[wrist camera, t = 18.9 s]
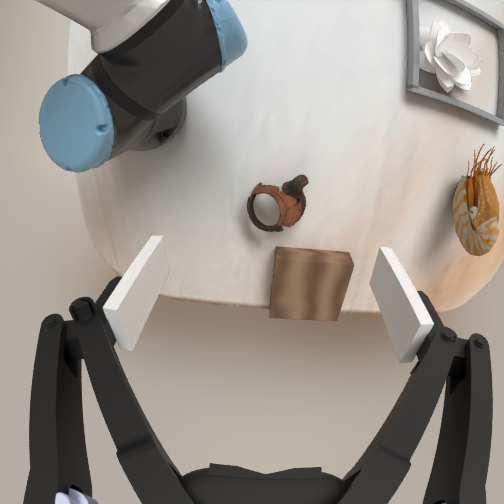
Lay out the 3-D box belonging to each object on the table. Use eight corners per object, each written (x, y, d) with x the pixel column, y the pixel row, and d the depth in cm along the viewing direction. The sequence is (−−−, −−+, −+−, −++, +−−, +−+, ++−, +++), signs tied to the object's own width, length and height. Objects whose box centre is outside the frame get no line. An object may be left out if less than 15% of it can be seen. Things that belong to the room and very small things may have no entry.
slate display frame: (406, 90, 38) (412, 91, 36) (404, -21, 25) (409, -24, 23) (499, 124, 37) (506, 127, 35) (500, 27, 24) (507, 26, 22)
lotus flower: (397, 22, 31) (419, 13, 24) (457, 22, 28) (482, 17, 20) (421, 94, 38) (446, 97, 31) (476, 88, 34) (503, 92, 27)
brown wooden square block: (269, 302, 65) (269, 317, 60) (276, 245, 57) (276, 259, 52) (333, 306, 64) (336, 320, 60) (348, 251, 56) (354, 264, 52)
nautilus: (484, 142, 40) (531, 164, 27) (458, 232, 51) (493, 270, 38) (458, 131, 40) (507, 150, 27) (433, 227, 51) (468, 267, 38)
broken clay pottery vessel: (292, 231, 54) (271, 247, 48) (258, 198, 56) (233, 209, 50) (330, 186, 47) (312, 197, 40) (290, 151, 48) (266, 156, 42)
